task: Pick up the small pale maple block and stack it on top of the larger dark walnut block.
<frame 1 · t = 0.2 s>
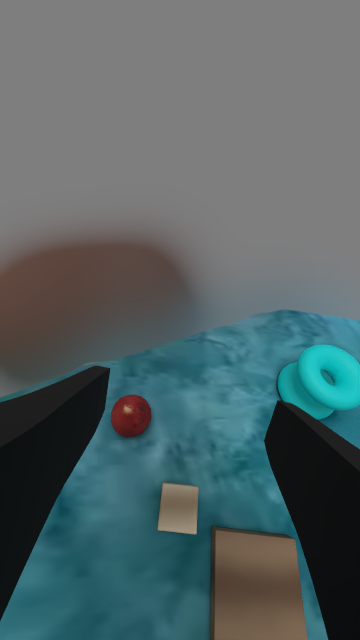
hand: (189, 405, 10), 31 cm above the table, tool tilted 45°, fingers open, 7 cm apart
walnut block: (250, 582, 30), on the table
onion: (133, 420, 38), on the table
maple block: (176, 503, 33), on the table
donuts: (302, 391, 43), on the table
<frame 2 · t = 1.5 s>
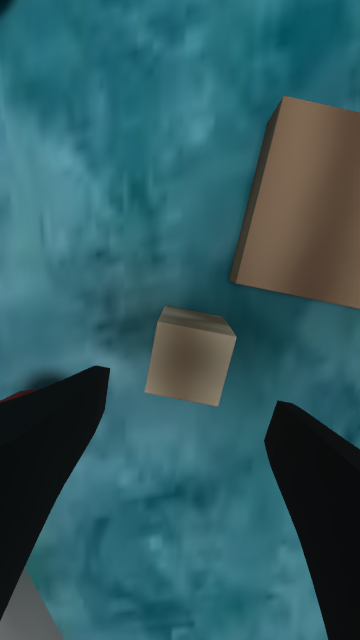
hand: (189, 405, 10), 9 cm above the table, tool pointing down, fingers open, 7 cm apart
walnut block: (314, 223, 17), on the table
maple block: (188, 338, 19), on the table
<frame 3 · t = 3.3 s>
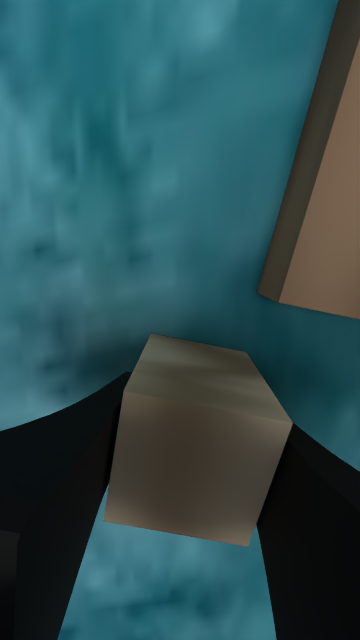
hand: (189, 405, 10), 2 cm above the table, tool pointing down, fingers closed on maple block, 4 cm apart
maple block: (189, 385, 12), on the table, touching gripper
when the fingers open (6 cm above the table, at t = 8.0 s): maple block drops 2 cm, resting on walnut block.
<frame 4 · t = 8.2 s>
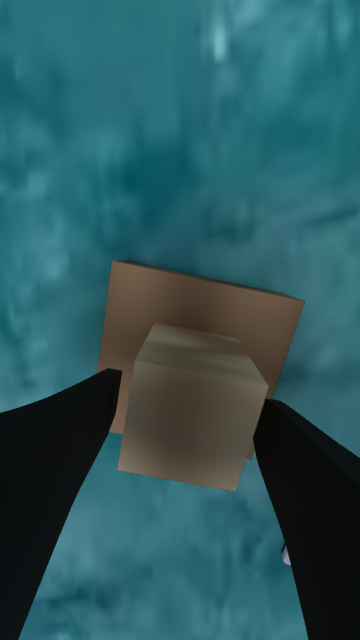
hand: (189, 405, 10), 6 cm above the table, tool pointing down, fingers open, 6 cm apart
walnut block: (188, 350, 16), on the table, touching maple block
maple block: (187, 368, 13), point 2 cm above the table, touching walnut block
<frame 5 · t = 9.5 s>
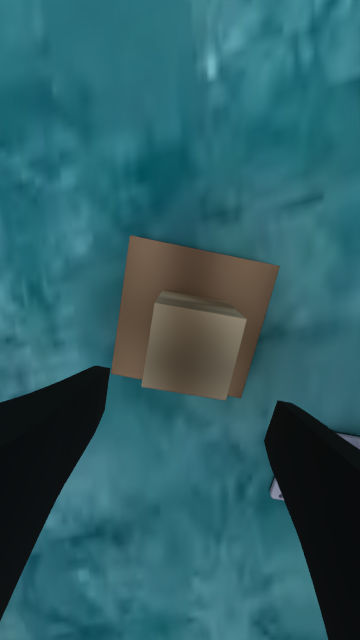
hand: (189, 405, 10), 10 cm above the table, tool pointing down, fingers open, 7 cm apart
walnut block: (189, 313, 20), on the table
maple block: (188, 326, 17), point 3 cm above the table
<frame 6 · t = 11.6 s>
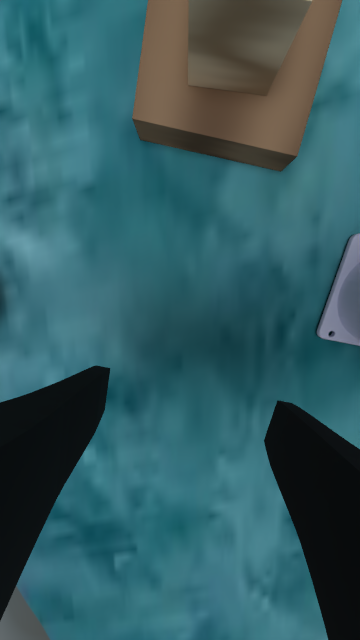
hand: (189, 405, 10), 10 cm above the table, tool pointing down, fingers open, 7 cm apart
walnut block: (228, 74, 16), on the table
maple block: (234, 41, 13), point 2 cm above the table
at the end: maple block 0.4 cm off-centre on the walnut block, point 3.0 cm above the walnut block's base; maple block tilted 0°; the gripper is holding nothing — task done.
